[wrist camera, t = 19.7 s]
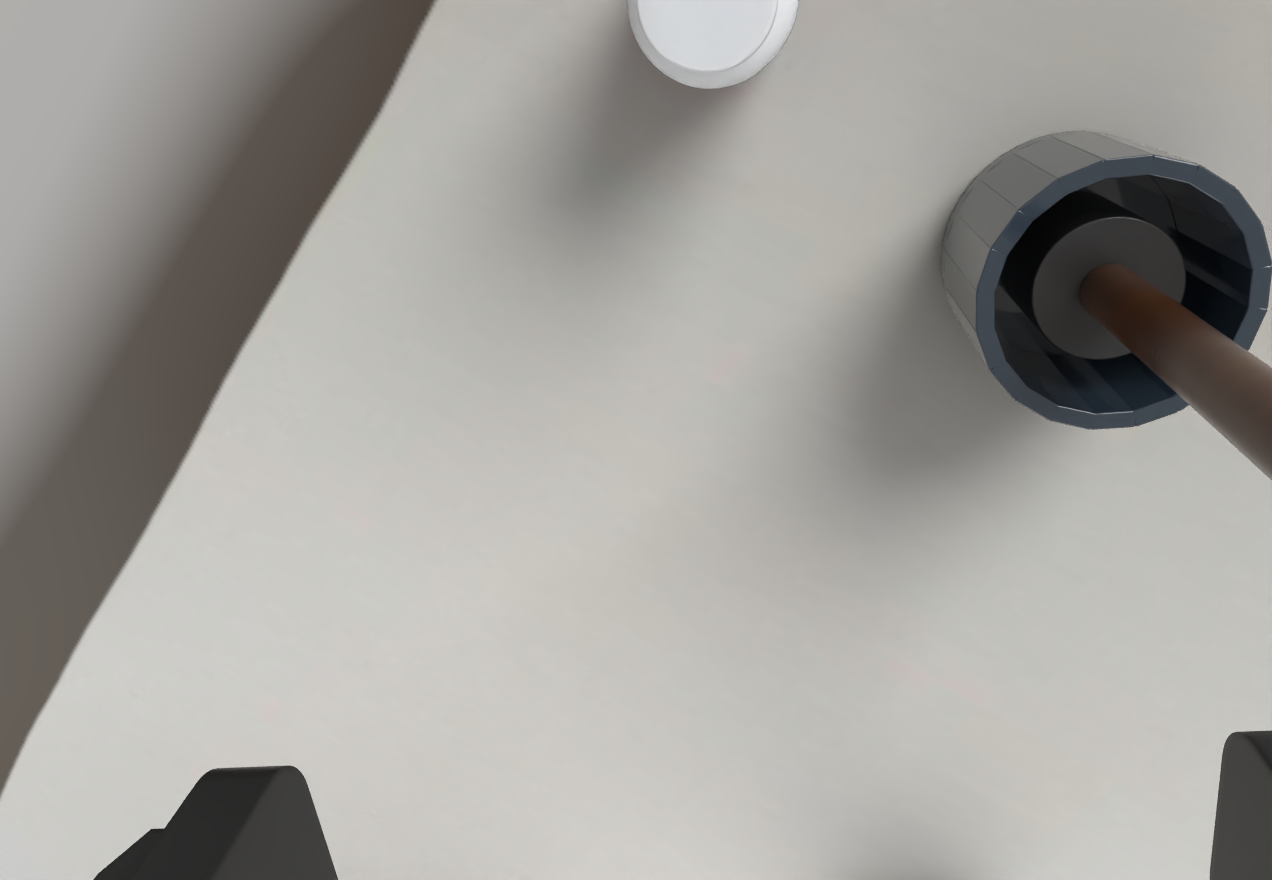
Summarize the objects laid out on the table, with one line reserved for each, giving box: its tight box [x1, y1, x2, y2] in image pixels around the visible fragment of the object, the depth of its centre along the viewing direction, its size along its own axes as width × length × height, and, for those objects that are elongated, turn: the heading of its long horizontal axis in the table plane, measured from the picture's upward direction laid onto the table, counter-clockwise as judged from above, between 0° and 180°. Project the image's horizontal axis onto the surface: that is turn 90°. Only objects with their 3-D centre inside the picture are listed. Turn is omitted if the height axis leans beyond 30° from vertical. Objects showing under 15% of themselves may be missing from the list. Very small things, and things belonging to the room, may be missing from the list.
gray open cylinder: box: [941, 131, 1272, 430], centre depth 36 cm, size 9×9×7 cm
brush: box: [1001, 191, 1272, 480], centre depth 27 cm, size 5×5×24 cm
